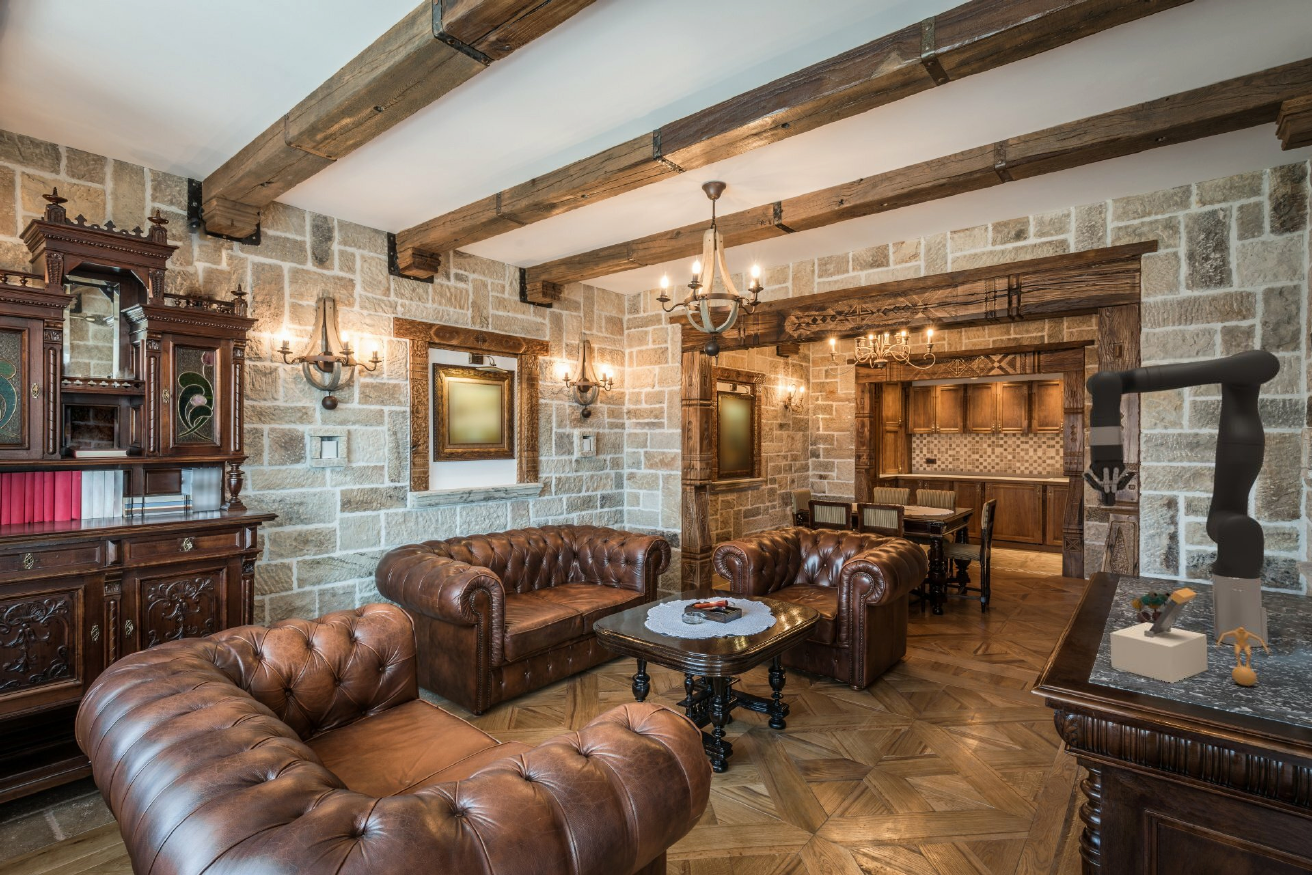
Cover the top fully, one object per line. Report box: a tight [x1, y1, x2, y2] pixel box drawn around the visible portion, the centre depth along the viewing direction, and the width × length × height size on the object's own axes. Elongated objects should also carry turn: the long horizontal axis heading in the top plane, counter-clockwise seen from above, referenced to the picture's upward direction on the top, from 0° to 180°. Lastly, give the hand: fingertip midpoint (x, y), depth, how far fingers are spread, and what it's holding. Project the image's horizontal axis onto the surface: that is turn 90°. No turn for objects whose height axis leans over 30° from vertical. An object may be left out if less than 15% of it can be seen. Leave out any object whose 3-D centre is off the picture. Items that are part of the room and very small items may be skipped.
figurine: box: [1216, 627, 1270, 687], centre depth 136 cm, size 8×6×12 cm
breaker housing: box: [1110, 622, 1209, 684], centre depth 146 cm, size 12×16×9 cm
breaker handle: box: [1149, 587, 1197, 635], centre depth 143 cm, size 2×6×12 cm, turn 118°
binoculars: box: [1131, 590, 1178, 627], centre depth 178 cm, size 9×9×10 cm
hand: (1109, 505), depth 173 cm, fingers closed
